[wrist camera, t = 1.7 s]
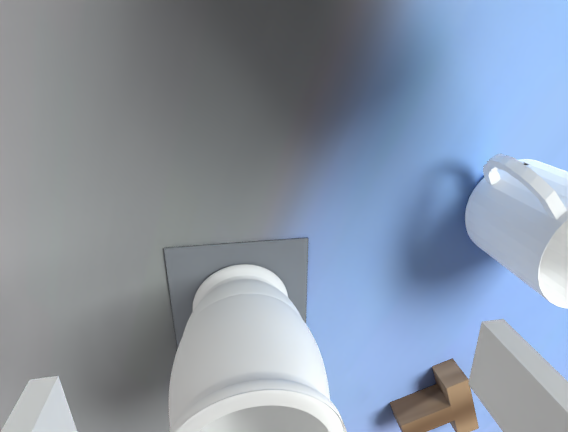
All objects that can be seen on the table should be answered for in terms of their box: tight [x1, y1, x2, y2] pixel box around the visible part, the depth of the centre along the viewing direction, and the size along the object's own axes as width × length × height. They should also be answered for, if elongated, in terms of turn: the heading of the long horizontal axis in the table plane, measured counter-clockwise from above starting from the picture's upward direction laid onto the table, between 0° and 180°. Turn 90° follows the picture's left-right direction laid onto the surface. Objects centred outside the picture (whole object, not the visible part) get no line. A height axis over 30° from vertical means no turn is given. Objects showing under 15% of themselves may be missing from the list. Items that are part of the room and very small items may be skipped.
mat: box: [164, 238, 308, 349], centre depth 38 cm, size 26×12×1 cm, turn 0°
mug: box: [465, 154, 568, 308], centre depth 31 cm, size 12×9×9 cm
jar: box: [169, 264, 346, 432], centre depth 29 cm, size 11×10×15 cm
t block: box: [390, 358, 479, 432], centre depth 43 cm, size 8×8×3 cm
